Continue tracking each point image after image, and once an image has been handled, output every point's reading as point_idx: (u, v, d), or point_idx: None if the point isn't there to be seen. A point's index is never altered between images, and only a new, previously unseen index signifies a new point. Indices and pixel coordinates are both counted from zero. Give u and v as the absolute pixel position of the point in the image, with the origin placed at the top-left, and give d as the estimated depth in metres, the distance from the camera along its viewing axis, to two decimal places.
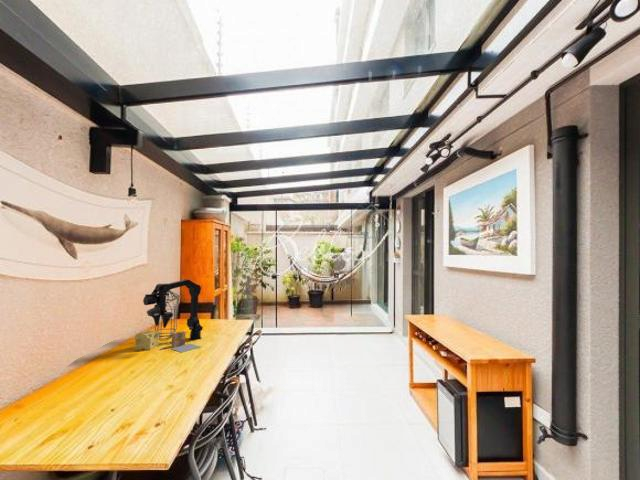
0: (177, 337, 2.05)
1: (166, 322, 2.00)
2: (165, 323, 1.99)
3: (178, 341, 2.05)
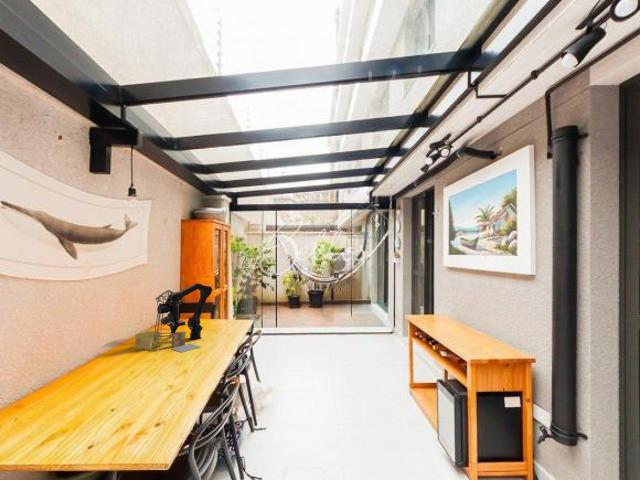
0: (177, 337, 2.05)
1: (175, 329, 2.10)
2: (174, 330, 2.10)
3: (178, 341, 2.05)
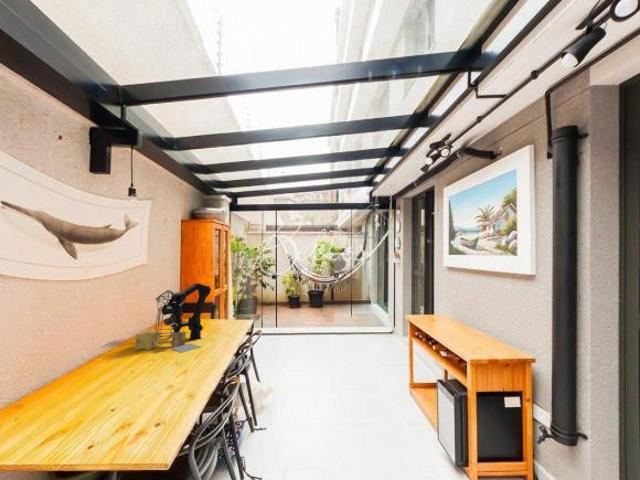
0: (178, 337, 2.05)
1: (178, 330, 2.08)
2: (177, 331, 2.08)
3: (178, 341, 2.05)
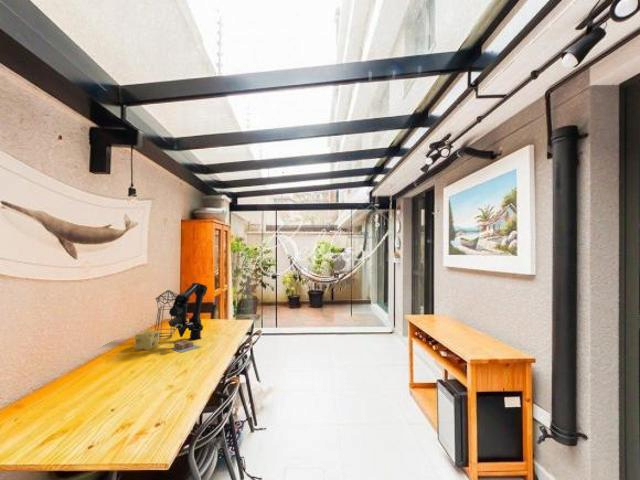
0: None
1: (183, 331, 2.05)
2: (182, 332, 2.05)
3: None
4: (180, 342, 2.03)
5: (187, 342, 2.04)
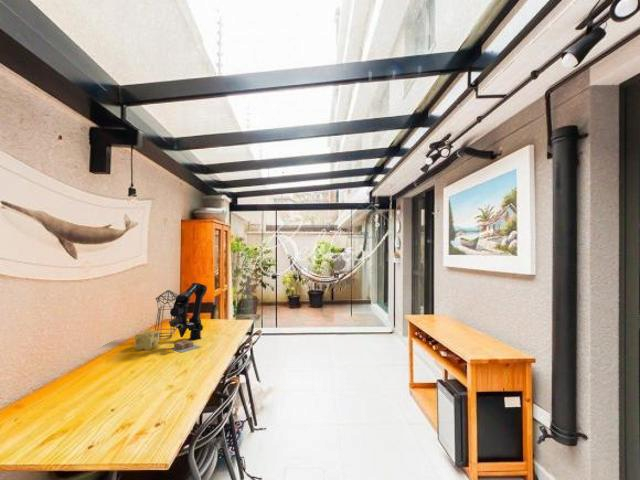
0: None
1: (183, 331, 2.05)
2: (183, 332, 2.05)
3: None
4: (180, 342, 2.03)
5: (187, 342, 2.04)
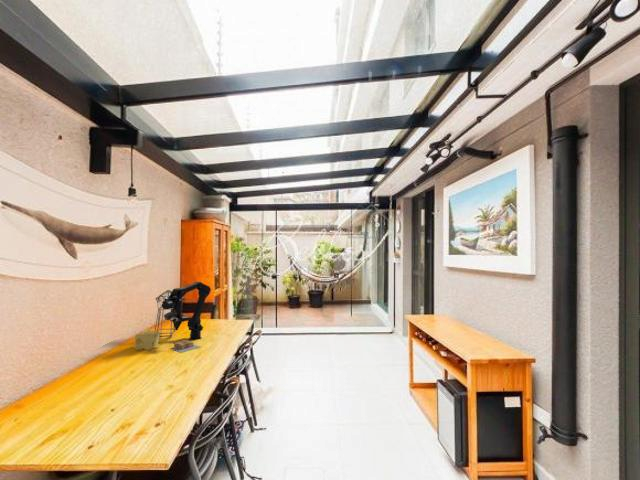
0: None
1: (178, 325, 2.08)
2: (177, 326, 2.08)
3: None
4: (180, 342, 2.03)
5: (187, 342, 2.04)
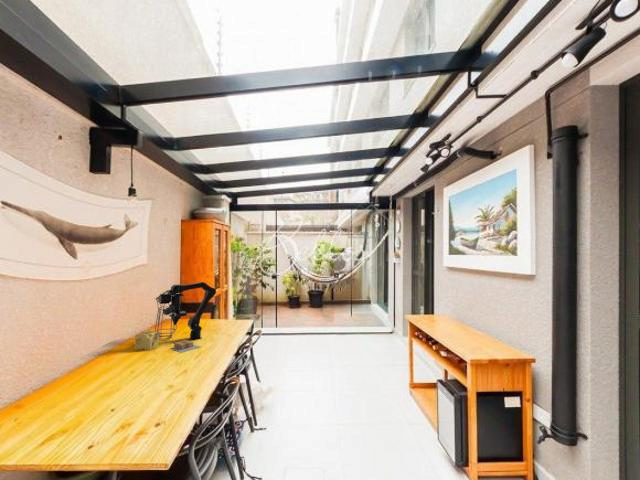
0: None
1: (176, 320, 2.15)
2: (176, 321, 2.14)
3: None
4: (180, 342, 2.03)
5: (187, 342, 2.04)
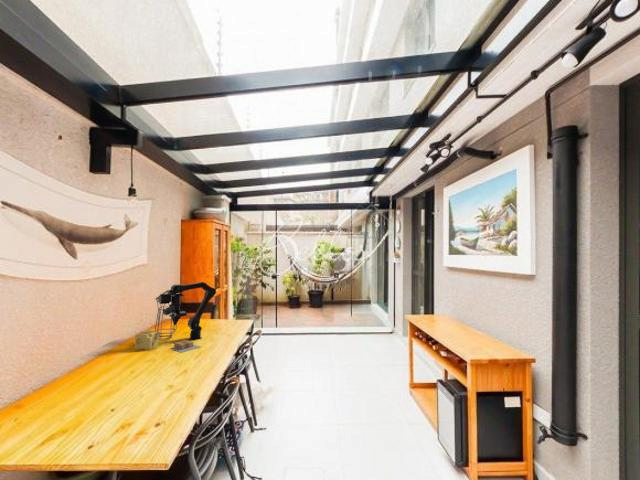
0: None
1: (176, 320, 2.15)
2: (176, 321, 2.14)
3: None
4: (180, 342, 2.03)
5: (187, 342, 2.04)
